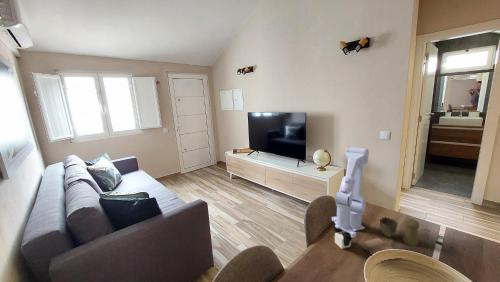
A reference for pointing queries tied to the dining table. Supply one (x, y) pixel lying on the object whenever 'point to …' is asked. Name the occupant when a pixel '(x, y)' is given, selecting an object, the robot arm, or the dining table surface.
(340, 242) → the offwhite cube
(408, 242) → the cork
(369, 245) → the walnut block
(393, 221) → the cup
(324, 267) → the dining table surface
